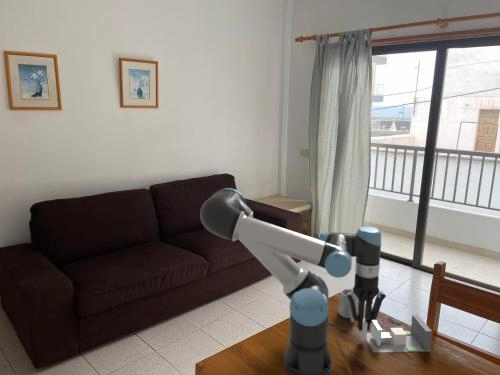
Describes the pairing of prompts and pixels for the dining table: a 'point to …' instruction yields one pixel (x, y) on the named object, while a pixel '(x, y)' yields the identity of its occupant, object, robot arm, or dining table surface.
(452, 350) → the dining table surface
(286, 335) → the dining table surface
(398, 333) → the block
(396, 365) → the dining table surface
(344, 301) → the mug
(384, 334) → the plunger
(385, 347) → the bench
